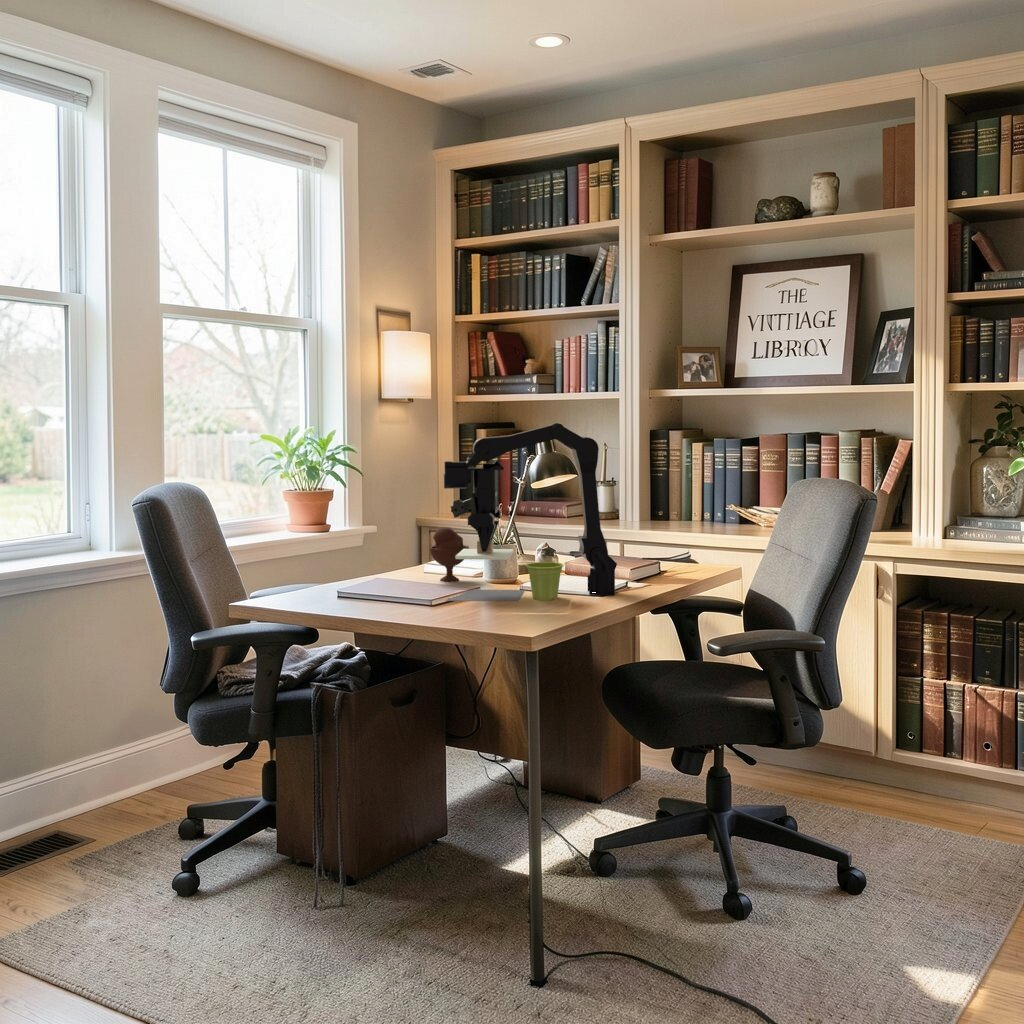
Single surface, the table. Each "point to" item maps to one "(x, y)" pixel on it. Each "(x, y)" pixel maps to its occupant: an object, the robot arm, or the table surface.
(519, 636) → the table surface
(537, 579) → the plant pot
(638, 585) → the table surface
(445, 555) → the ice cream bowl
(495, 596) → the gray flat panel
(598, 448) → the robot arm
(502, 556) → the sage lid
